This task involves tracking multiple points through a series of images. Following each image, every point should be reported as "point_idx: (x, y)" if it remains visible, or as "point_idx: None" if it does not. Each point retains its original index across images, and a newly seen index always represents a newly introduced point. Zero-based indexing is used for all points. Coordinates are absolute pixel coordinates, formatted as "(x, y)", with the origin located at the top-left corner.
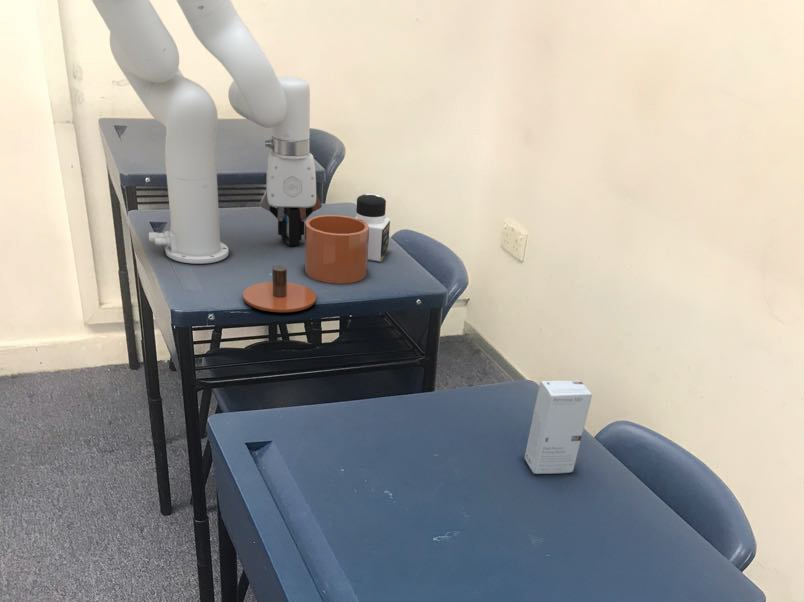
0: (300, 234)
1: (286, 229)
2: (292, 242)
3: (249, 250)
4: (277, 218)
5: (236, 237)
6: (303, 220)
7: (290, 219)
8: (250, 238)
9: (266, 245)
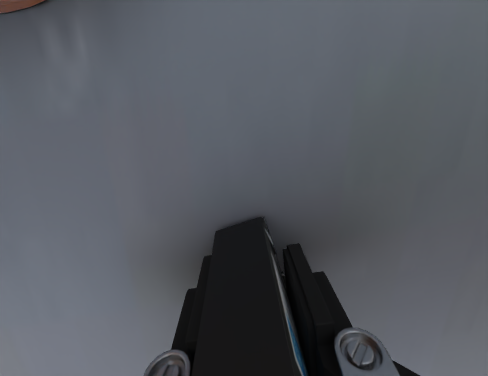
0: (205, 272)
1: (286, 301)
2: (248, 227)
3: (458, 142)
4: (382, 347)
5: (470, 287)
6: (170, 360)
7: (276, 330)
8: (417, 286)
9: (364, 220)
